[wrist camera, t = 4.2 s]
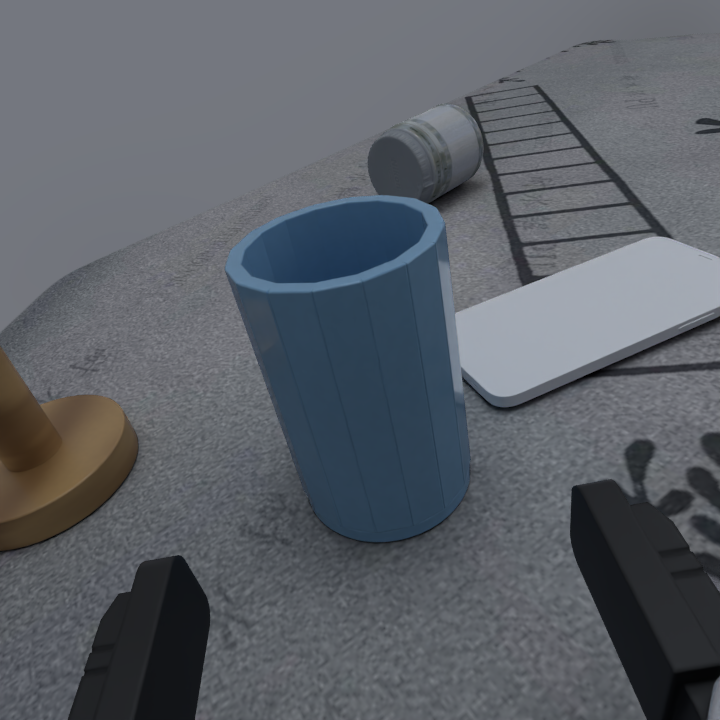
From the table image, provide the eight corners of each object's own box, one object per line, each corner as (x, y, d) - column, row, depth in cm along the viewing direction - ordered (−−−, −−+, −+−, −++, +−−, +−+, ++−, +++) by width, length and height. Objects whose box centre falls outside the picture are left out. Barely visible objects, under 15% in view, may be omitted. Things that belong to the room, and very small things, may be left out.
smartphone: (419, 326, 29) (656, 233, 32) (421, 338, 29) (655, 245, 32) (499, 403, 23) (781, 280, 26) (500, 416, 23) (777, 294, 26)
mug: (489, 525, 19) (466, 259, 14) (306, 557, 20) (210, 312, 14) (433, 348, 28) (404, 146, 23) (308, 373, 29) (250, 179, 23)
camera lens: (428, 223, 42) (488, 185, 46) (424, 138, 38) (491, 104, 42) (368, 204, 46) (429, 171, 50) (359, 125, 42) (426, 95, 46)
